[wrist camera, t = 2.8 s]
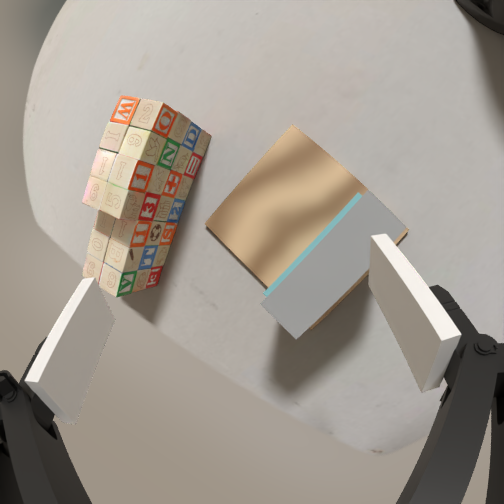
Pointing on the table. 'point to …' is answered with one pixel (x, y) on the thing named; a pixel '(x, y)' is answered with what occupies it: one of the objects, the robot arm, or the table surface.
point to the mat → (285, 207)
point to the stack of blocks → (139, 192)
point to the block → (330, 264)
